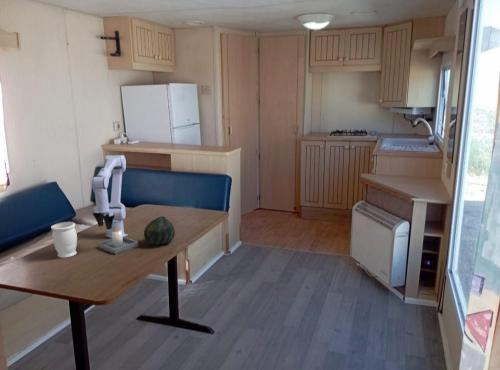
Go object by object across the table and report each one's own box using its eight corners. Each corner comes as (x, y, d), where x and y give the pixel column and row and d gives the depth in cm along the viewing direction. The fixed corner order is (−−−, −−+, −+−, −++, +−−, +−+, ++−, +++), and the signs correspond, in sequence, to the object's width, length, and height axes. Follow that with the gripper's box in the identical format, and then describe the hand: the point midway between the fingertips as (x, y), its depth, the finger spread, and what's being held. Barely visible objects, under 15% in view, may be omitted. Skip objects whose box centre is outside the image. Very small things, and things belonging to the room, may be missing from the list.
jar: (83, 251, 194) (80, 222, 191) (68, 260, 185) (63, 229, 181) (66, 249, 198) (62, 220, 194) (50, 257, 188) (45, 227, 185)
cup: (110, 246, 199) (109, 230, 197) (119, 243, 202) (118, 228, 201) (116, 248, 196) (114, 232, 194) (125, 245, 199) (123, 230, 197)
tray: (98, 247, 199) (98, 242, 199) (121, 240, 209) (121, 235, 208) (115, 254, 190) (114, 249, 189) (138, 246, 199) (137, 241, 199)
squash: (138, 231, 206) (144, 214, 196) (164, 225, 215) (172, 209, 205) (147, 254, 199) (154, 238, 189) (174, 248, 208) (182, 232, 198)
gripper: (86, 200, 196) (89, 226, 199) (102, 205, 186) (105, 232, 190) (99, 197, 201) (102, 223, 204) (115, 201, 192) (118, 228, 195)
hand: (105, 227), depth 197 cm, fingers open, 7 cm apart
